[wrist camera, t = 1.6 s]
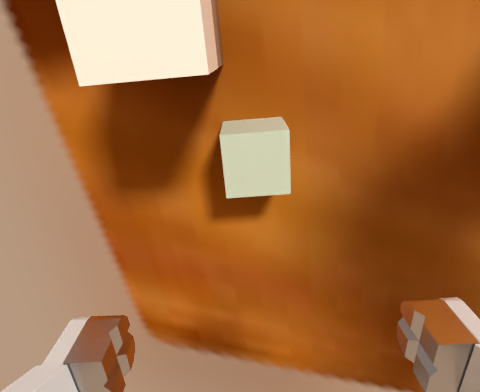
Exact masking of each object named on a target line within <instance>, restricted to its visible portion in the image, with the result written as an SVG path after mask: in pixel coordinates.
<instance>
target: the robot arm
mask: <svg viewBox="0 0 480 392" xmlns="http://www.w3.org/2000/svg"><path fill="white" fill-rule="evenodd" d="M400 312H401V314H402V316H403V318H402V319H401V320H400V321H398V322H397V329H396V334H397V340H398V344H399V346H400V349H401V351H402V353H403V355H404V356H405V357H406V358H407V359H409V360H410V361H411V362H413V363H414V366H413V373H414V374H415V376H416V378H417V380H418V382H419V383H420V385H421V387H422V389H423V390H424V392H480V319H479V318H478V317H477V316H476V315H475V314H474V312H473V311H472V310H471V309H470V308H469V307H468V306H467V305H466V304H465V303H464V302H463V301H462V300H461V299H459V298H457V297H452V298H439V299H422V300H406V301H403V302H402V304H401V307H400ZM129 326H130V324H129V321H128V318H127V316H124V315H121V316H91V317H75V318H73V319H72V320H71V321H70V322H69V323H68V325H67V326H66V328H65V329H64V331H63V333H62V334H61V336H60V337H59V339H58V340H57V342H56V344H55V345H54V347H53V348H52V350H51V351H50V353H49V355H48V356H47V358H46V359H45V361H44V362H43V364H42V366H35V367H34V368H33V369H31V370H30V371H28V372H27V373H26V374H24V375H23V376H22V377H20V378H19V379H18V380H16V381H15V382H13V383H12V384H11V385H9V386H8V387H7V388H5V389H4V390H3V391H1V392H123V391H124V388H125V381H124V378H123V377H124V376H125V375H126V374H127V373H128V372H129V371H130V370H131V367H132V364H133V361H134V353H135V343H134V339H133V336H132V335H131V334H130V333H129V332H127V331H128V328H129Z"/></svg>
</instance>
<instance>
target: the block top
mask: <svg viewBox="0 0 480 392" xmlns="http://www.w3.org/2000/svg"><path fill="white" fill-rule="evenodd" d="M55 1H56V4H57V8H58V12H59V15H60V19H61V22H62V26H63V29H64V33H65V36H66V40H67V43H68V47H69V51H70V54H71V58H72V61H73V65H74V68H75V72H76V75H77V79H78V83H79V86H89V85H99V84H110V83H121V82H132V81H143V80H154V79H165V78H176V77H187V76H198V75H209V74H210V73H212V72H213V71H215V70H216V69H218V62H217V53H216V43H215V34H214V24H213V15H212V6H211V0H55Z"/></svg>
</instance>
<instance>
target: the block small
mask: <svg viewBox="0 0 480 392" xmlns="http://www.w3.org/2000/svg"><path fill="white" fill-rule="evenodd" d="M219 136H220V145H221V154H222V163H223V172H224V181H225V190H226V198H240V197H253V196H267V195H281V194H291V188H290V133H289V128H288V126H287V125H286V123H285V122H284V120H283V118H282V117H272V118H260V119H248V120H235V121H223V124H222V128H221V131H220V135H219Z"/></svg>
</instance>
